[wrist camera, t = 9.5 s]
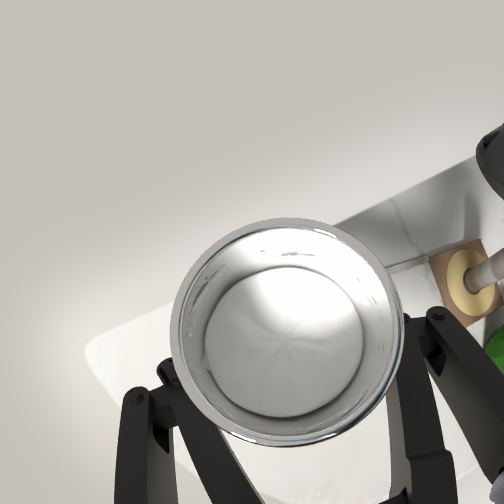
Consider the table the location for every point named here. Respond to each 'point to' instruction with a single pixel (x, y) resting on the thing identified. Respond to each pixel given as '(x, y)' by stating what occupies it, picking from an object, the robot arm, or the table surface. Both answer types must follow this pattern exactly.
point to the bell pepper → (497, 348)
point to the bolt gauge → (465, 280)
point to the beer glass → (287, 332)
